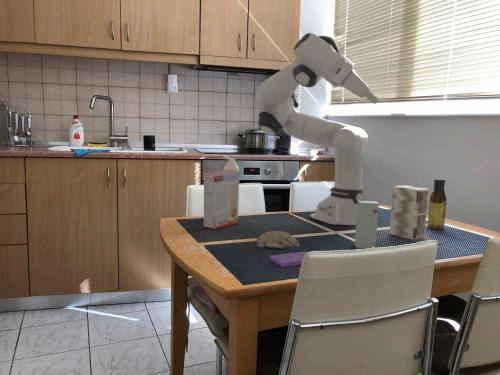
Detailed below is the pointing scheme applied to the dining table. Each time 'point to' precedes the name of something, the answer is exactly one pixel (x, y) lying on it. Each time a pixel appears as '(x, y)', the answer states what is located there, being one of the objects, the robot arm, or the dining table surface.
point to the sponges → (288, 259)
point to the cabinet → (409, 213)
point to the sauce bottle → (437, 206)
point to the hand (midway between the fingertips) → (375, 100)
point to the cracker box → (221, 198)
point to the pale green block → (366, 224)
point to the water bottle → (230, 164)
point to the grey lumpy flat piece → (277, 240)
